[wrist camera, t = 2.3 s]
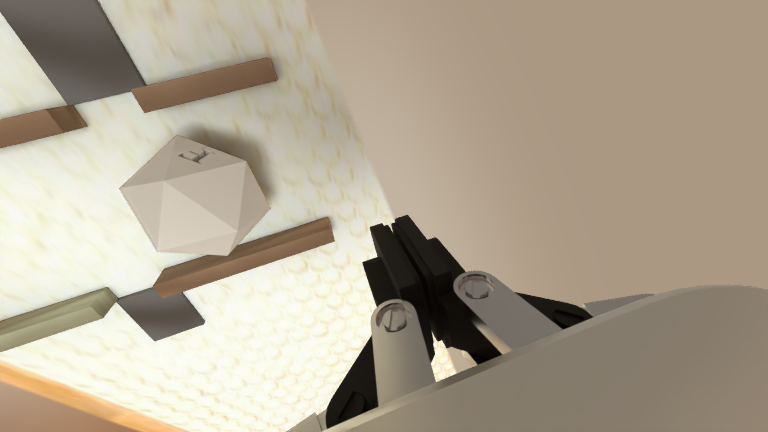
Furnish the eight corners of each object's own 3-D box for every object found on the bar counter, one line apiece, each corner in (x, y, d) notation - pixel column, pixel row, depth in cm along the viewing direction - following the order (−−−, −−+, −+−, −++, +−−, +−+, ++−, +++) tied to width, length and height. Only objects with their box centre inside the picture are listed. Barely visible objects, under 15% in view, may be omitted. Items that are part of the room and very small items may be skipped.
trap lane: (-398, 73, 15) (-611, 74, 11) (234, -43, 19) (220, -68, 15) (40, 378, 28) (6, 420, 25) (347, 271, 33) (353, 295, 29)
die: (290, 185, 27) (261, 143, 18) (252, 271, 26) (196, 274, 16) (208, 154, 27) (133, 94, 17) (163, 239, 25) (53, 223, 16)
